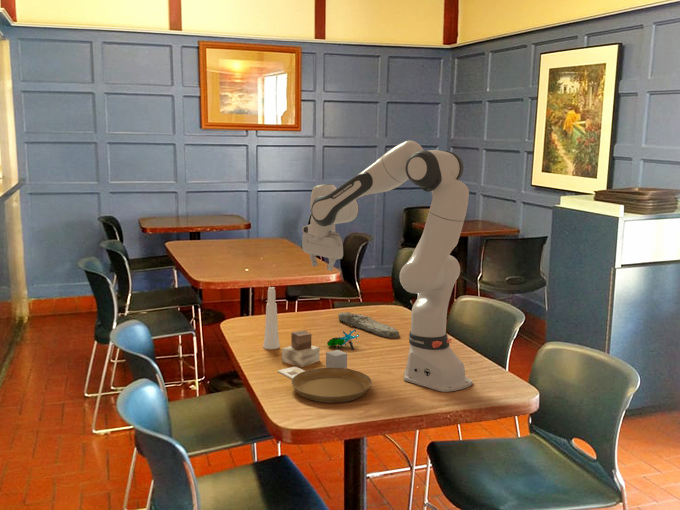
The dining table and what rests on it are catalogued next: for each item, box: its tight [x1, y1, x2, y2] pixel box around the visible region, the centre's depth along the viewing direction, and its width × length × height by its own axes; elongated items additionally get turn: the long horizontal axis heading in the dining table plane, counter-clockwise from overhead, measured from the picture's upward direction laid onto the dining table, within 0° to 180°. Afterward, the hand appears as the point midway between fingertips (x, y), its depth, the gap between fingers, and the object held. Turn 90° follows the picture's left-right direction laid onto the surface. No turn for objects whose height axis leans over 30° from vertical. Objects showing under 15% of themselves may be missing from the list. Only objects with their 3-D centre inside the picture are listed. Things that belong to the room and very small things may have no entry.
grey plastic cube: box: [325, 349, 348, 369], centre depth 224 cm, size 5×5×5 cm
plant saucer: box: [291, 367, 373, 404], centre depth 204 cm, size 24×24×3 cm
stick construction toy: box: [326, 328, 360, 351], centre depth 246 cm, size 12×7×8 cm
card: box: [277, 365, 305, 380], centre depth 217 cm, size 10×7×1 cm
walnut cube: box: [290, 330, 312, 350], centre depth 229 cm, size 5×5×5 cm
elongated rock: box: [337, 311, 400, 339], centre depth 273 cm, size 35×5×10 cm
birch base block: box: [281, 344, 321, 368], centre depth 230 cm, size 9×9×5 cm
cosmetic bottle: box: [262, 286, 281, 350], centre depth 243 cm, size 6×6×22 cm
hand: (322, 268), depth 242 cm, fingers open, 8 cm apart
